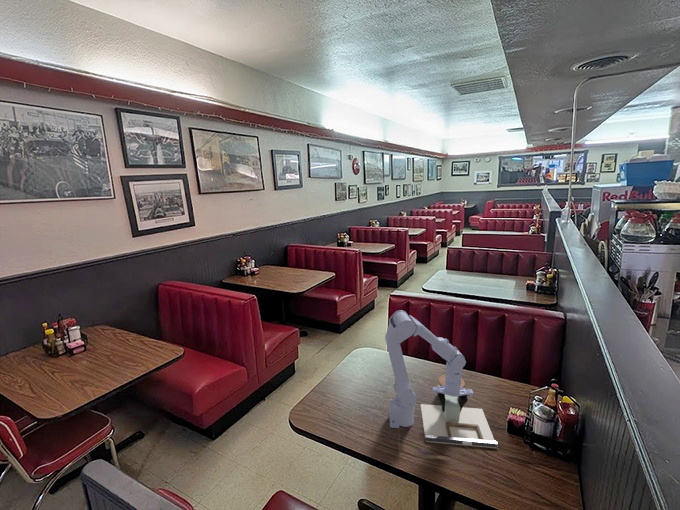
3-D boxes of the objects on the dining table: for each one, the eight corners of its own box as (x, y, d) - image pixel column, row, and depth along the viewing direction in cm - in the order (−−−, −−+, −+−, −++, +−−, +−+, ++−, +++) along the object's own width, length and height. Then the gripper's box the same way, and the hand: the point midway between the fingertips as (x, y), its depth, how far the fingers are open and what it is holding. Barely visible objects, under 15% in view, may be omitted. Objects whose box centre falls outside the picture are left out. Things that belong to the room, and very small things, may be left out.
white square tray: (425, 443, 117) (425, 437, 117) (420, 405, 137) (420, 400, 136) (497, 450, 114) (498, 444, 114) (481, 410, 133) (482, 405, 133)
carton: (445, 420, 126) (446, 406, 125) (442, 406, 134) (442, 393, 132) (459, 421, 125) (461, 407, 124) (455, 407, 133) (456, 394, 132)
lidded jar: (458, 409, 134) (460, 388, 132) (433, 399, 141) (434, 379, 138) (467, 395, 143) (468, 376, 140) (442, 386, 149) (443, 367, 147)
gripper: (470, 374, 129) (468, 405, 132) (432, 372, 131) (430, 402, 134) (475, 385, 122) (472, 417, 125) (434, 382, 124) (432, 414, 127)
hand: (450, 410), depth 129 cm, fingers closed on carton, 5 cm apart
